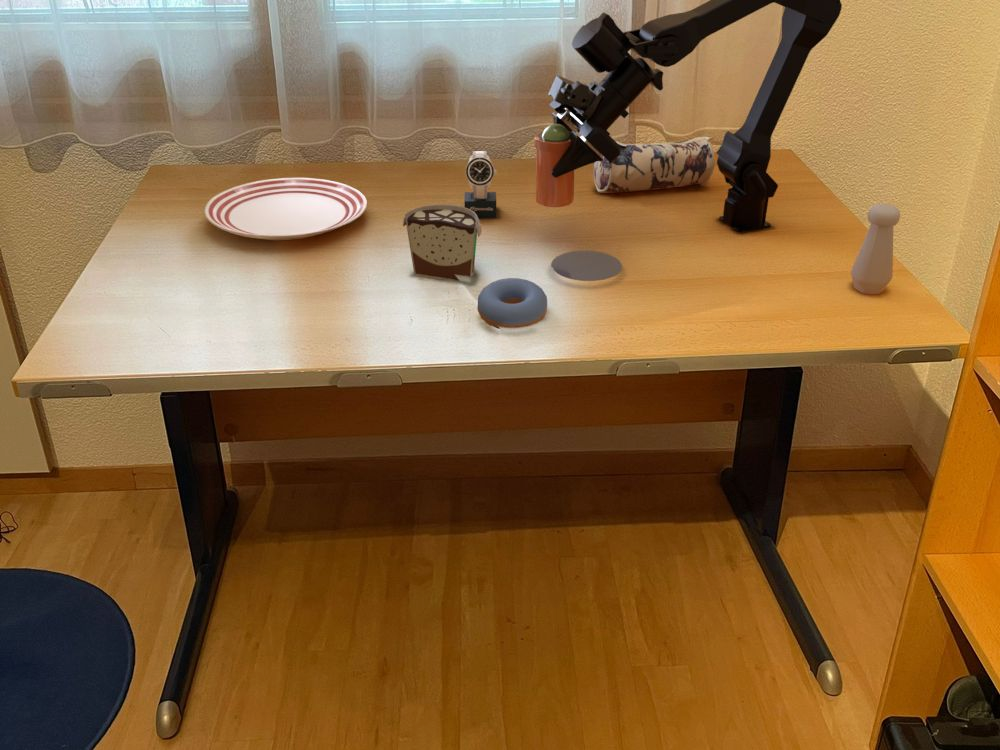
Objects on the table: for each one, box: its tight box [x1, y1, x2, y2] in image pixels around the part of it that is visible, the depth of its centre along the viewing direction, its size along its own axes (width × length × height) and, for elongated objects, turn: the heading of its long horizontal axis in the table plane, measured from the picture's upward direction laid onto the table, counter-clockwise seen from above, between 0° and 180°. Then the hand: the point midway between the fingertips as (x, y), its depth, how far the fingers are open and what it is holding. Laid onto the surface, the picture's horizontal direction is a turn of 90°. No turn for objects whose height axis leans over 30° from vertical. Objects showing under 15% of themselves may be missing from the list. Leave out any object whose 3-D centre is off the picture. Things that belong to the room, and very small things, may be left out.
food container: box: [402, 203, 482, 283], centre depth 151 cm, size 12×6×10 cm, turn 71°
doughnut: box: [476, 277, 548, 330], centre depth 139 cm, size 10×10×5 cm
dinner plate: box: [204, 177, 368, 241], centre depth 170 cm, size 28×27×3 cm
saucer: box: [550, 250, 623, 282], centre depth 153 cm, size 11×11×1 cm
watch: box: [464, 150, 498, 219], centre depth 170 cm, size 6×8×11 cm
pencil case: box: [593, 136, 716, 194], centre depth 181 cm, size 22×8×10 cm, turn 101°
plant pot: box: [533, 123, 575, 208], centre depth 154 cm, size 7×7×12 cm
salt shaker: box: [850, 203, 901, 295], centre depth 144 cm, size 6×6×13 cm
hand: (546, 168), depth 154 cm, fingers closed on plant pot, 6 cm apart
